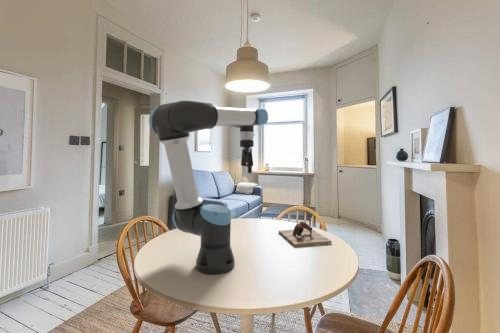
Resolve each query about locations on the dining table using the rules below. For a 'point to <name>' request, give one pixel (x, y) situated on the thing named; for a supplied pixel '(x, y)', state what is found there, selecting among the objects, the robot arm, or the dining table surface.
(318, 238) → the walnut board
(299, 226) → the brown arched figurine
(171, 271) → the dining table surface
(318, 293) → the dining table surface
